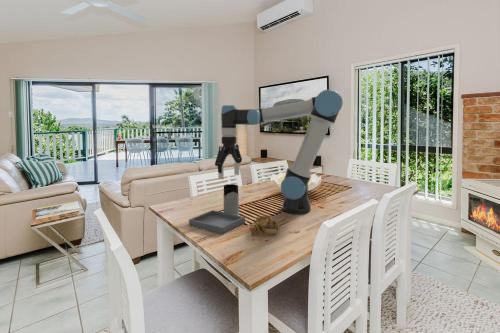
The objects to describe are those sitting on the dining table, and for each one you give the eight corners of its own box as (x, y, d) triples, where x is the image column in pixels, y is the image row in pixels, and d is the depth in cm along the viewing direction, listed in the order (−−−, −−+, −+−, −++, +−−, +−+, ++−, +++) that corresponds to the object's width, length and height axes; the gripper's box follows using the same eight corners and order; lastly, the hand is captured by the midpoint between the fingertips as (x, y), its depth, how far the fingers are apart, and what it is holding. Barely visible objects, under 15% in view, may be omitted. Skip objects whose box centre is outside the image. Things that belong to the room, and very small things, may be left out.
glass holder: (224, 217, 151) (224, 188, 148) (219, 209, 164) (219, 182, 162) (241, 215, 153) (241, 187, 151) (235, 207, 167) (234, 181, 164)
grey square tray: (244, 223, 142) (244, 217, 142) (222, 234, 128) (222, 228, 128) (212, 215, 153) (212, 210, 153) (189, 225, 139) (188, 219, 139)
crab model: (275, 240, 123) (275, 227, 122) (246, 236, 127) (246, 224, 126) (282, 227, 138) (283, 215, 137) (256, 223, 141) (256, 212, 141)
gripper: (237, 134, 164) (237, 172, 168) (207, 137, 144) (207, 180, 147) (248, 135, 160) (248, 173, 164) (219, 137, 140) (219, 181, 143)
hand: (229, 176), depth 156 cm, fingers open, 13 cm apart
